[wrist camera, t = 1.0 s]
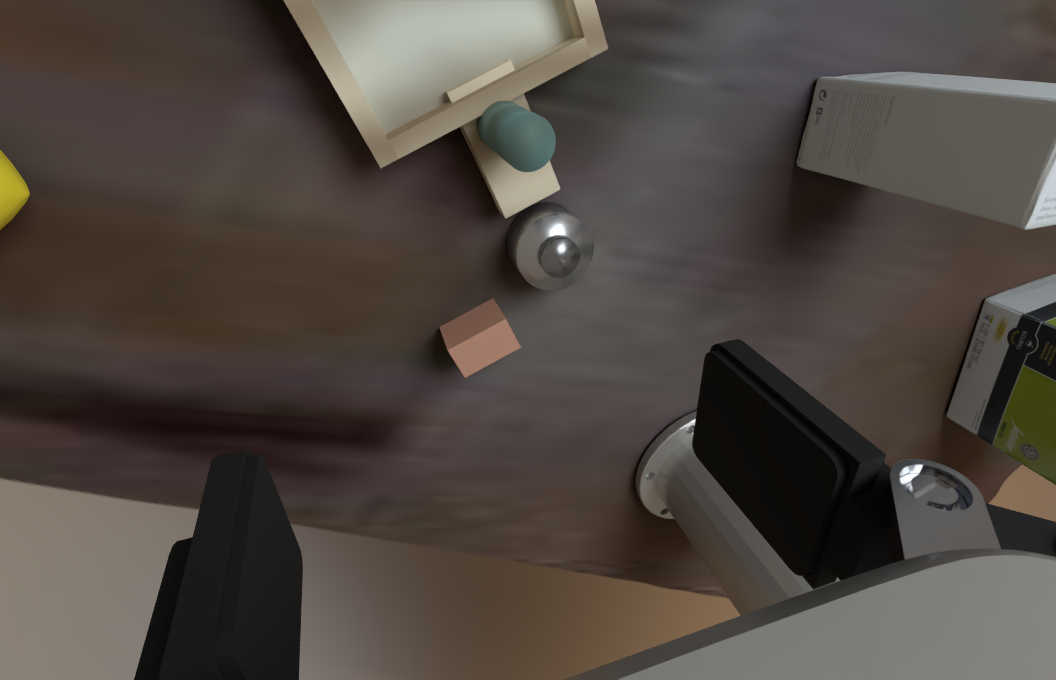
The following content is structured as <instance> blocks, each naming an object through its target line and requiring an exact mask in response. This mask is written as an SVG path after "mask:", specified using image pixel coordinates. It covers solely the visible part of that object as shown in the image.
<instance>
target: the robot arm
mask: <svg viewBox="0 0 1056 680" xmlns="http://www.w3.org/2000/svg"><path fill="white" fill-rule="evenodd" d="M885 457H886V454H884V453H883V452H882V451H881V450H879V449H878V448H877V447H876V446H874V445H873V444H872V443H871V442H869V441H868V440H867V439H866V438H864V437H863V436H862V435H860V434H859V433H858V432H857V431H855V430H854V429H853V428H852V427H850V426H849V425H848V424H847V423H845V422H844V421H843V420H842V419H840V418H839V417H838V416H837V415H835V414H834V413H833V412H831V411H830V410H829V409H828V408H826V407H825V406H824V405H823V404H821V403H820V402H819V401H818V400H816V399H815V398H814V397H813V396H811V395H810V394H809V393H808V392H806V391H805V390H804V389H803V388H801V387H800V386H799V385H797V384H796V383H795V382H794V381H792V380H791V379H790V378H789V377H787V376H786V375H785V374H784V373H782V372H781V371H780V370H779V369H777V368H776V367H775V366H774V365H772V364H771V363H770V362H768V361H767V360H766V359H765V358H763V357H762V356H761V355H760V354H758V353H757V352H756V351H755V350H753V349H752V348H751V347H750V346H748V345H747V344H746V343H745V342H743V341H741V340H732V341H728V342H723V343H719V344H715V345H713V346H712V348H711V350H710V352H709V353H707V354H706V356H705V360H704V366H703V373H702V380H701V386H700V393H699V400H698V406H697V411H695V412H692V413H690V414H688V415H686V416H684V417H683V418H681V419H679V420H678V421H676V422H675V423H673V424H672V425H670V426H669V427H668V428H667V429H665V430H664V431H663V432H662V433H661V434H660V435H659V436H658V437H657V438H656V439H655V440H654V441H653V443H652V444H651V445H650V446H649V448H648V449H647V451H646V452H645V454H644V456H643V457H642V460H641V462H640V464H639V466H638V470H637V474H636V490H637V494H638V496H639V498H640V500H641V501H642V503H643V505H644V506H645V507H646V508H647V509H648V510H649V512H651V513H653V514H654V515H656V516H659V517H662V518H666V519H675V520H676V522H677V523H678V525H679V526H680V528H681V529H682V531H683V532H684V534H685V535H686V537H687V538H688V539H689V541H690V542H691V544H692V545H693V547H694V548H695V550H696V551H697V553H698V554H699V555H700V557H701V558H702V560H703V561H704V563H705V564H706V566H707V567H708V569H709V570H710V571H711V573H712V574H713V576H714V577H715V579H716V580H717V582H718V583H719V585H720V586H721V587H722V589H723V590H724V592H725V593H726V595H727V596H728V598H729V599H730V601H731V602H732V603H733V605H734V606H735V608H736V609H737V611H738V612H739V613H740V615H741V616H739V617H736V618H733V619H731V620H728V621H725V622H722V623H719V624H717V625H714V626H711V627H708V628H706V629H703V630H700V631H698V632H695V633H692V634H689V635H686V636H684V637H681V638H678V639H675V640H672V641H670V642H667V643H664V644H661V645H659V646H656V647H653V648H651V649H647V650H645V651H642V652H639V653H636V654H634V655H631V656H628V657H626V658H623V659H620V660H617V661H614V662H612V663H609V664H607V665H603V666H601V667H598V668H596V669H592V670H590V671H587V672H584V673H582V674H579V675H576V676H573V677H570V678H568V679H565V680H1056V522H1054V521H1050V520H1046V519H1042V518H1039V517H1035V516H1031V515H1028V514H1024V513H1020V512H1016V511H1013V510H1009V509H1005V508H1002V507H997V506H994V505H990V504H987V503H985V502H984V499H983V497H982V495H981V493H980V492H979V490H978V488H977V487H976V486H975V485H974V484H973V483H972V482H971V481H970V480H969V479H968V478H966V477H965V476H963V475H962V474H960V473H959V472H957V471H955V470H953V469H951V468H949V467H947V466H944V465H942V464H939V463H935V462H932V461H929V460H921V459H908V460H902V461H900V462H897V463H895V464H894V466H893V467H892V468H890V467H889V466H887V465H886V464H885V463H884V459H885ZM302 573H303V563H302V555H301V550H300V547H299V545H298V542H297V540H296V537H295V535H294V532H293V530H292V527H291V525H290V522H289V520H288V517H287V515H286V512H285V510H284V507H283V505H282V502H281V499H280V497H279V494H278V492H277V489H276V487H275V484H274V482H273V479H272V477H271V474H270V472H269V469H268V467H267V464H266V462H265V459H264V457H263V456H262V455H256V456H252V454H251V452H250V451H249V450H242V451H238V452H234V453H229V454H225V455H220V456H216V457H214V458H213V459H212V462H211V465H210V469H209V473H208V477H207V481H206V485H205V489H204V494H203V498H202V502H201V506H200V510H199V514H198V518H197V522H196V526H195V530H194V534H193V537H192V538H188V539H185V540H181V541H177V542H176V543H175V544H174V545H173V547H172V549H171V552H170V554H169V557H168V561H167V564H166V568H165V572H164V575H163V579H162V582H161V586H160V590H159V593H158V597H157V600H156V604H155V607H154V611H153V614H152V618H151V621H150V625H149V629H148V632H147V636H146V639H145V643H144V646H143V650H142V653H141V657H140V661H139V664H138V668H137V671H136V675H135V678H134V680H299V657H300V656H299V655H300V630H301V601H302V575H303V574H302Z"/></svg>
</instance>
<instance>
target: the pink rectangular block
mask: <svg viewBox="0 0 1056 680" xmlns="http://www.w3.org/2000/svg"><path fill="white" fill-rule="evenodd" d="M439 328H440V331H441V333H442V336H443V339H444V342H445V344H446V347H447V350H448V352H449V353H450V355H451V356H452V358H453V360H454V361H455V363H456V364H457V366H458V368H459V369H460V371H461V372H462V374H463V375H464V377H465V378H466V377H468V376H469V375H471V374H473V373H475V372H477V371H479V370H480V369H482V368H484V367H486V366H488V365H490V364H491V363H493V362H495V361H497V360H499V359H501V358H502V357H504V356H506V355H508V354H510V353H512V352H513V351H515V350H517V349H519V348H521V347H520V345H519V343H518V341H517V339H516V337H515V335H514V334H513V332H512V330H511V328H510V326H509V324H508V322H507V320H506V318H505V317H504V315H503V313H502V312H501V310H500V308H499V306H498V305H497V303H496V301H495V300H494V298H492V299H490V300H489V301H487V302H485V303H483V304H481V305H479V306H477V307H476V308H474V309H472V310H470V311H468V312H466V313H465V314H463V315H461V316H459V317H457V318H455V319H453V320H452V321H450V322H448V323H446V324H444V325H442V326H440V327H439Z"/></svg>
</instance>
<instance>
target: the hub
mask: <svg viewBox="0 0 1056 680" xmlns="http://www.w3.org/2000/svg"><path fill="white" fill-rule="evenodd" d="M593 250H594V244H593V238H592V235H591V233H590V231H589V229H588V227H587V226H586V225H585V224H584V223H583V222H582V221H581V220H579V219H578V218H577V217H576V216H574V215H573V214H572V213H571V212H570V211H568V210H567V209H566V208H565V207H563V206H561V205H559V204H556V203H550V202H543V203H538V204H534V205H532V206H530V207H528V208H526V209H525V210H523V211H522V212H521V213H520V214H519V215H518V216H517V217H516V218H515V220H514V221H513V223H512V224H511V226H510V229H509V231H508V235H507V251H508V255H509V257H510V259H511V261H512V262H513V264H514V265H515V266H516V268H517V269H518V270H519V272H520V273H521V274H522V276H523V277H524V278H525V280H526V281H527V282H528V283H529V284H531V285H532V286H534V287H536V288H538V289H541V290H546V291H553V290H560V289H563V288H566V287H568V286H570V285H572V284H573V283H575V282H576V281H577V280H578V279H579V278H580V277H581V276H582V275H583V274H584V273H585V272H586V270H587V269H588V267H589V265H590V262H591V260H592V256H593Z"/></svg>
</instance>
